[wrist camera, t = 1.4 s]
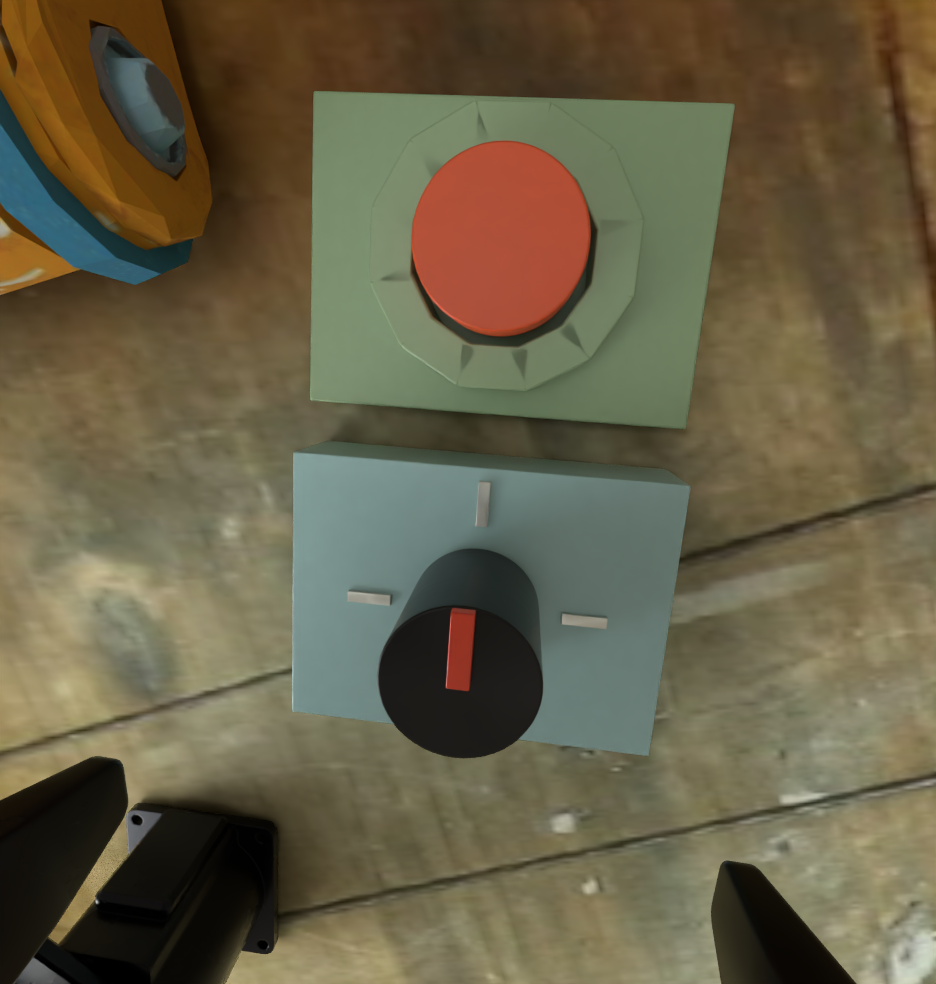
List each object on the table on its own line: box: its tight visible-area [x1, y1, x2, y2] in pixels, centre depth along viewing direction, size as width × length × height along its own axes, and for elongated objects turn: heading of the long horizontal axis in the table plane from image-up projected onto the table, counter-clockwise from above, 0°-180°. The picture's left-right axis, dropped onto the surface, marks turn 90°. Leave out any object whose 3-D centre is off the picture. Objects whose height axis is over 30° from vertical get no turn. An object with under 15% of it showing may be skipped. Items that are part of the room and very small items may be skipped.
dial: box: [377, 548, 543, 758], centre depth 15 cm, size 4×4×5 cm
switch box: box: [310, 91, 735, 429], centre depth 17 cm, size 9×12×4 cm
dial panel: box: [292, 441, 691, 756], centre depth 19 cm, size 9×12×3 cm
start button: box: [412, 141, 591, 336], centre depth 15 cm, size 4×4×2 cm
